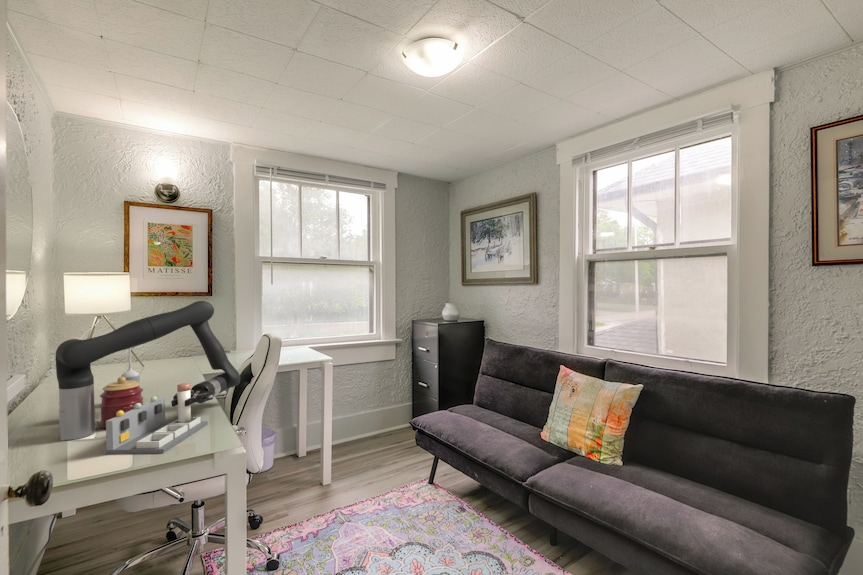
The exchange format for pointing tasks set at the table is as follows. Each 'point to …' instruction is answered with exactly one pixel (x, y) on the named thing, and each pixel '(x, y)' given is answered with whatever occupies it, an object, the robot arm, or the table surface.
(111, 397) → the canister
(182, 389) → the plug
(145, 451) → the breaker board
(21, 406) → the table surface
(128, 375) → the long-necked bottle
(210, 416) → the table surface
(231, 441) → the table surface
